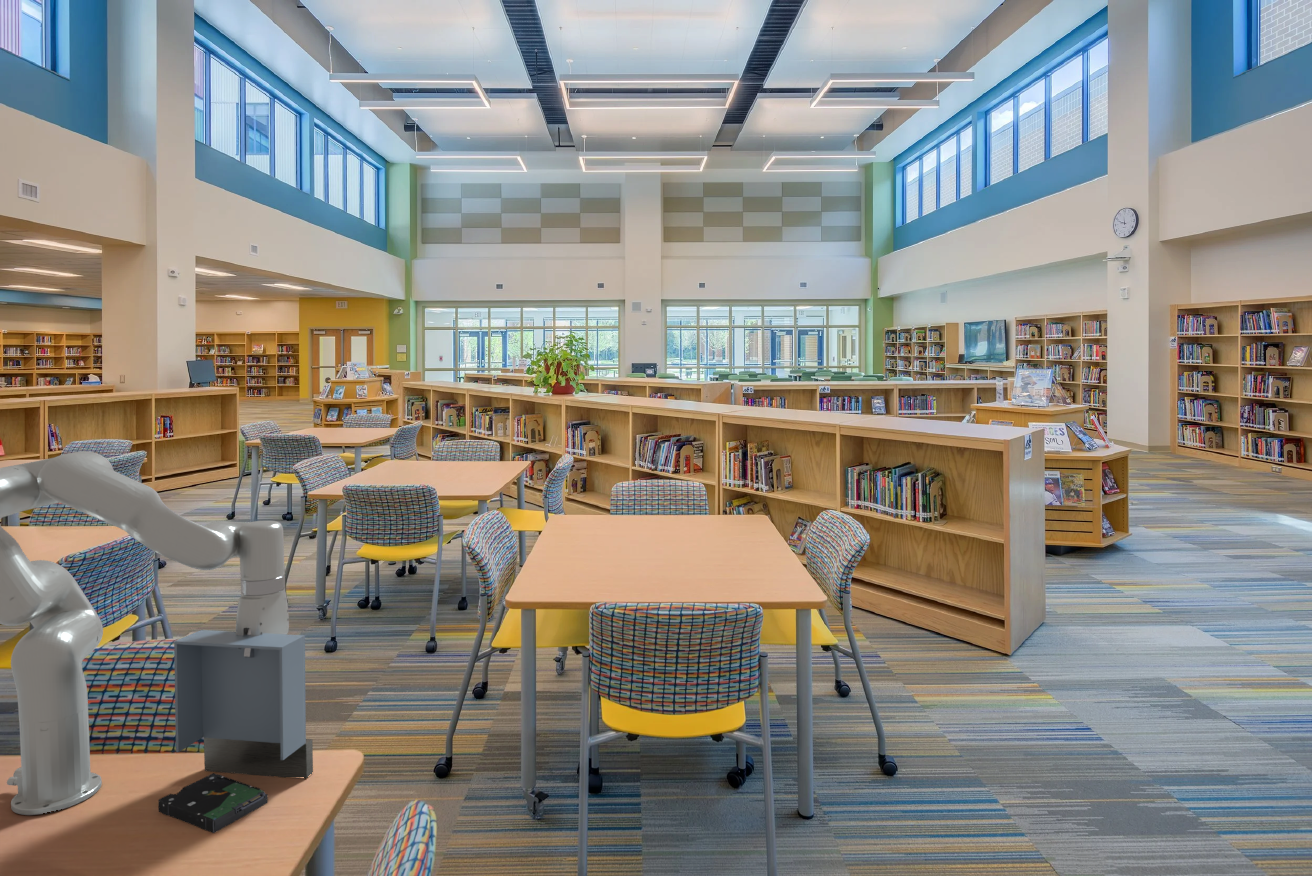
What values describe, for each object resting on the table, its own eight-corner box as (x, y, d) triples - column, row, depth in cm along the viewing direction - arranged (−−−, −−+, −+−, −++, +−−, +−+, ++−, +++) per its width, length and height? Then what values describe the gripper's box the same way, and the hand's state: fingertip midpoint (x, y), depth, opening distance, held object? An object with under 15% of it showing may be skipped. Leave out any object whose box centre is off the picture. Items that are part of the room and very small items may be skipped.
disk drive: (156, 816, 127) (214, 836, 121) (156, 800, 127) (213, 820, 121) (213, 786, 136) (269, 804, 130) (213, 772, 136) (269, 789, 130)
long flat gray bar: (204, 771, 141) (203, 736, 140) (212, 765, 143) (211, 731, 142) (306, 779, 138) (306, 744, 138) (313, 773, 140) (312, 739, 140)
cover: (174, 641, 132) (201, 629, 139) (175, 752, 133) (203, 735, 140) (282, 647, 130) (304, 635, 137) (283, 760, 131) (305, 742, 138)
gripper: (269, 575, 148) (272, 663, 149) (217, 596, 133) (221, 693, 135) (304, 576, 147) (306, 665, 149) (256, 597, 133) (259, 695, 134)
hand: (266, 678), depth 142 cm, fingers closed
